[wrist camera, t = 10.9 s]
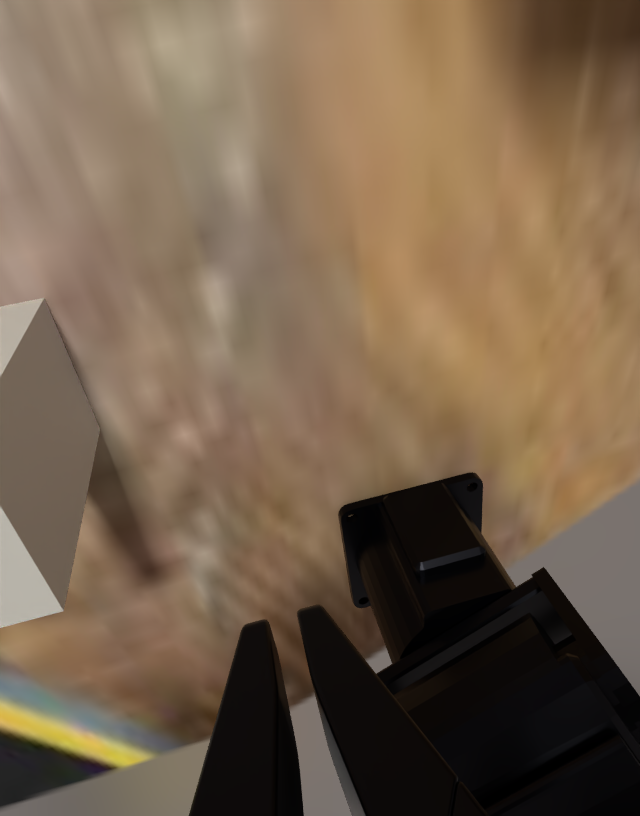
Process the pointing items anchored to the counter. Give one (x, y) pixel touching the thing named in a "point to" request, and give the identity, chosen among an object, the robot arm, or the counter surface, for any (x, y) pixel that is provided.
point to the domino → (40, 463)
